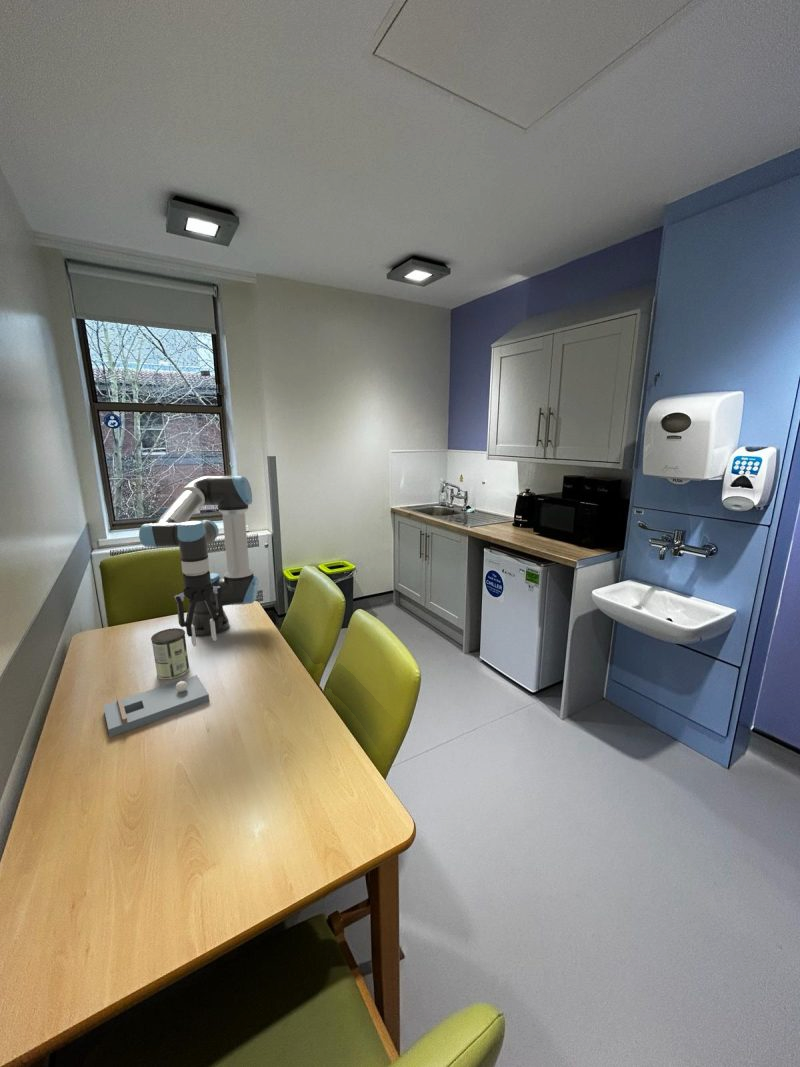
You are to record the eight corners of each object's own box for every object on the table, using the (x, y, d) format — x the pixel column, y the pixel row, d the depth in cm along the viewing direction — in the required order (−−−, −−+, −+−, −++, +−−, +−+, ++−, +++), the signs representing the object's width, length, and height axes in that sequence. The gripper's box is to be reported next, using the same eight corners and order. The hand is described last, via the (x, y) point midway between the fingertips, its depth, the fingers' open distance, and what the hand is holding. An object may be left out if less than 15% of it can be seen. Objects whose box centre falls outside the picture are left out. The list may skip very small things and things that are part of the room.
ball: (186, 686, 137) (185, 677, 136) (188, 691, 134) (187, 682, 133) (175, 690, 135) (174, 681, 134) (177, 695, 132) (176, 685, 131)
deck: (197, 681, 144) (196, 670, 143) (209, 701, 133) (208, 689, 132) (104, 712, 128) (102, 700, 127) (109, 737, 117) (107, 724, 117)
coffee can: (168, 663, 155) (163, 627, 152) (195, 664, 154) (191, 628, 151) (149, 679, 145) (143, 641, 142) (178, 680, 144) (173, 642, 141)
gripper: (223, 563, 139) (230, 629, 144) (160, 575, 128) (169, 646, 133) (230, 569, 133) (237, 637, 139) (165, 581, 122) (175, 655, 128)
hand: (204, 641), depth 136 cm, fingers open, 5 cm apart
